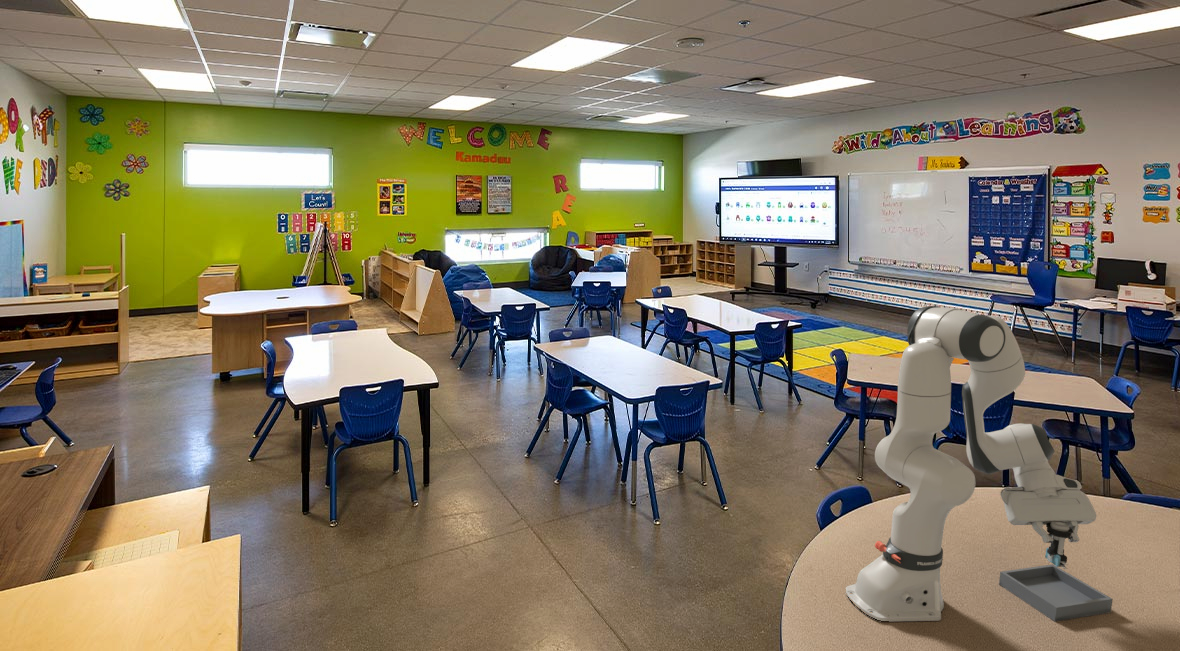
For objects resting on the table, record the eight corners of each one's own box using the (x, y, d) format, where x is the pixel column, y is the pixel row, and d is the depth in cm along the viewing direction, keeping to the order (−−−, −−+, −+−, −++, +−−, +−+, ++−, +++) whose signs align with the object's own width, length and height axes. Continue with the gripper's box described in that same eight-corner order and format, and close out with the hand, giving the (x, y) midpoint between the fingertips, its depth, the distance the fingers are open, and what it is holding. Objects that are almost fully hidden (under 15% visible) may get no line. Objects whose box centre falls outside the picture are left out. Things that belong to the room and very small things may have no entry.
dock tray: (1054, 621, 155) (1056, 607, 154) (998, 584, 170) (1000, 571, 170) (1110, 612, 158) (1112, 598, 158) (1051, 576, 174) (1052, 564, 173)
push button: (1076, 571, 160) (1082, 531, 158) (1053, 570, 160) (1059, 530, 158) (1058, 557, 166) (1064, 519, 164) (1036, 556, 166) (1041, 518, 165)
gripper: (1004, 482, 167) (1025, 538, 159) (1086, 481, 167) (1111, 537, 159) (991, 492, 172) (1012, 546, 164) (1071, 491, 172) (1095, 545, 164)
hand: (1061, 542), depth 161 cm, fingers closed on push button, 5 cm apart
